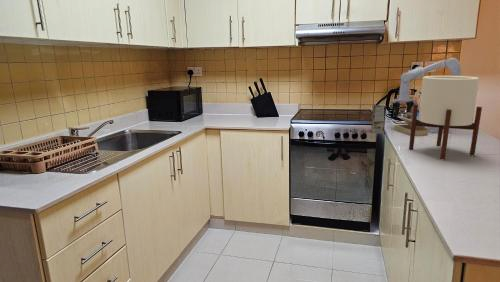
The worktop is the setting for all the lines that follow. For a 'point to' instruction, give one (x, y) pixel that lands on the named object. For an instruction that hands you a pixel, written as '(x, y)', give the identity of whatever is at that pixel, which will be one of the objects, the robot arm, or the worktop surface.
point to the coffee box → (378, 119)
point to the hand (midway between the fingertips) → (402, 113)
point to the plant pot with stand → (447, 108)
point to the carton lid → (410, 120)
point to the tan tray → (407, 130)
